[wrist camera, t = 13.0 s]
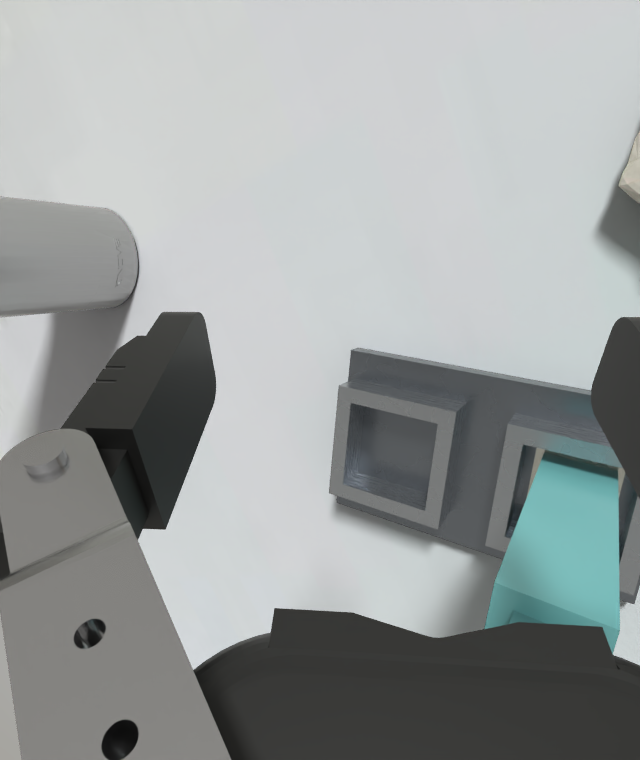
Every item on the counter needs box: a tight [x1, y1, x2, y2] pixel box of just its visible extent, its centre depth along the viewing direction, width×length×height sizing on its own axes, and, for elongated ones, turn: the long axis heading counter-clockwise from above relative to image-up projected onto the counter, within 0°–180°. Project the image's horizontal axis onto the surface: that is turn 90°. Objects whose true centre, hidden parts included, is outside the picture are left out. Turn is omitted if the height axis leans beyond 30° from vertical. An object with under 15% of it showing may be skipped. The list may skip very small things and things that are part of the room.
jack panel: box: [329, 348, 640, 604], centre depth 33 cm, size 20×12×4 cm, turn 85°
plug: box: [484, 453, 620, 654], centre depth 24 cm, size 4×4×17 cm
